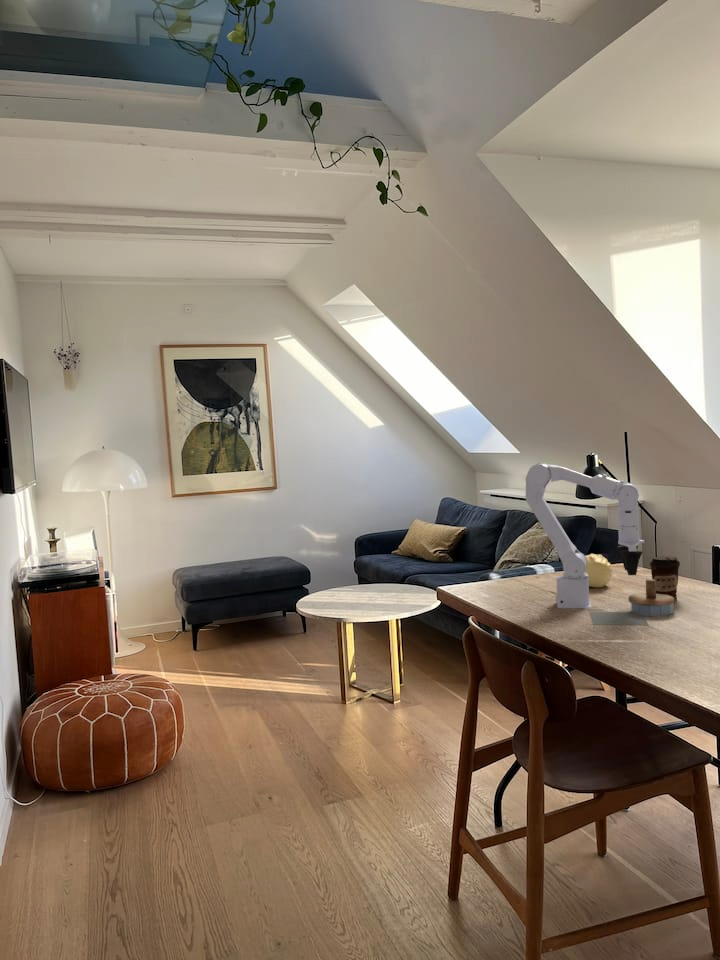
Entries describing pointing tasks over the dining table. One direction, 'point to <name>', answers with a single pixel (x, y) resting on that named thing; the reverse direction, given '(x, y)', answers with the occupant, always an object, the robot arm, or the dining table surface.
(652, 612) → the dish
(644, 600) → the lid
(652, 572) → the coffee cup
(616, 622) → the plate
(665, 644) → the dining table surface
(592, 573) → the sculpture
